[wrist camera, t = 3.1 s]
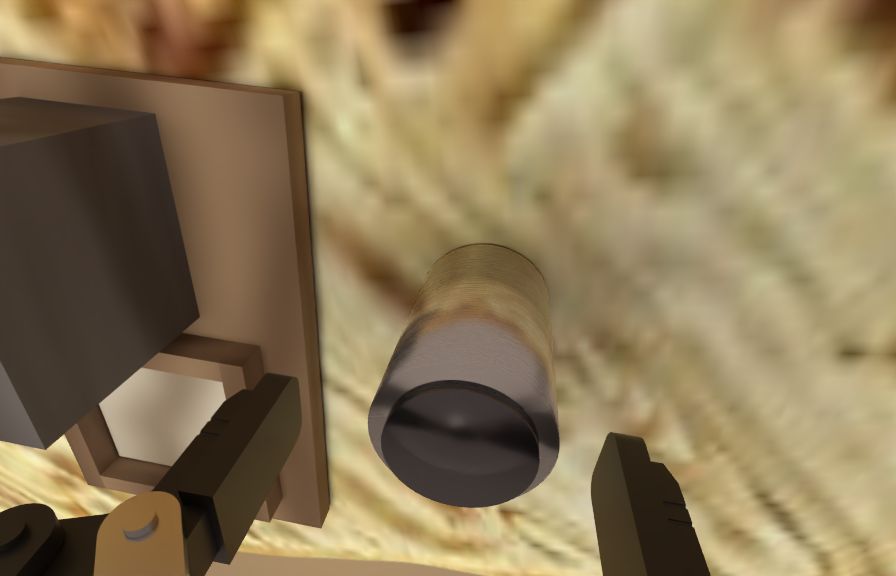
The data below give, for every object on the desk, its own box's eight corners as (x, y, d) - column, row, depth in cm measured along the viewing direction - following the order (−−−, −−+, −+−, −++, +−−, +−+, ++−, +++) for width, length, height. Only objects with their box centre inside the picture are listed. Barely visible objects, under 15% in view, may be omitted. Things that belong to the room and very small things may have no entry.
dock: (299, 91, 15) (55, 153, 7) (329, 508, 26) (243, 711, 18) (-73, 49, 16) (-613, 63, 9) (104, 462, 27) (-65, 633, 20)
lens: (561, 254, 16) (582, 397, 10) (536, 363, 19) (540, 534, 12) (425, 235, 17) (360, 360, 10) (418, 344, 19) (362, 499, 13)
